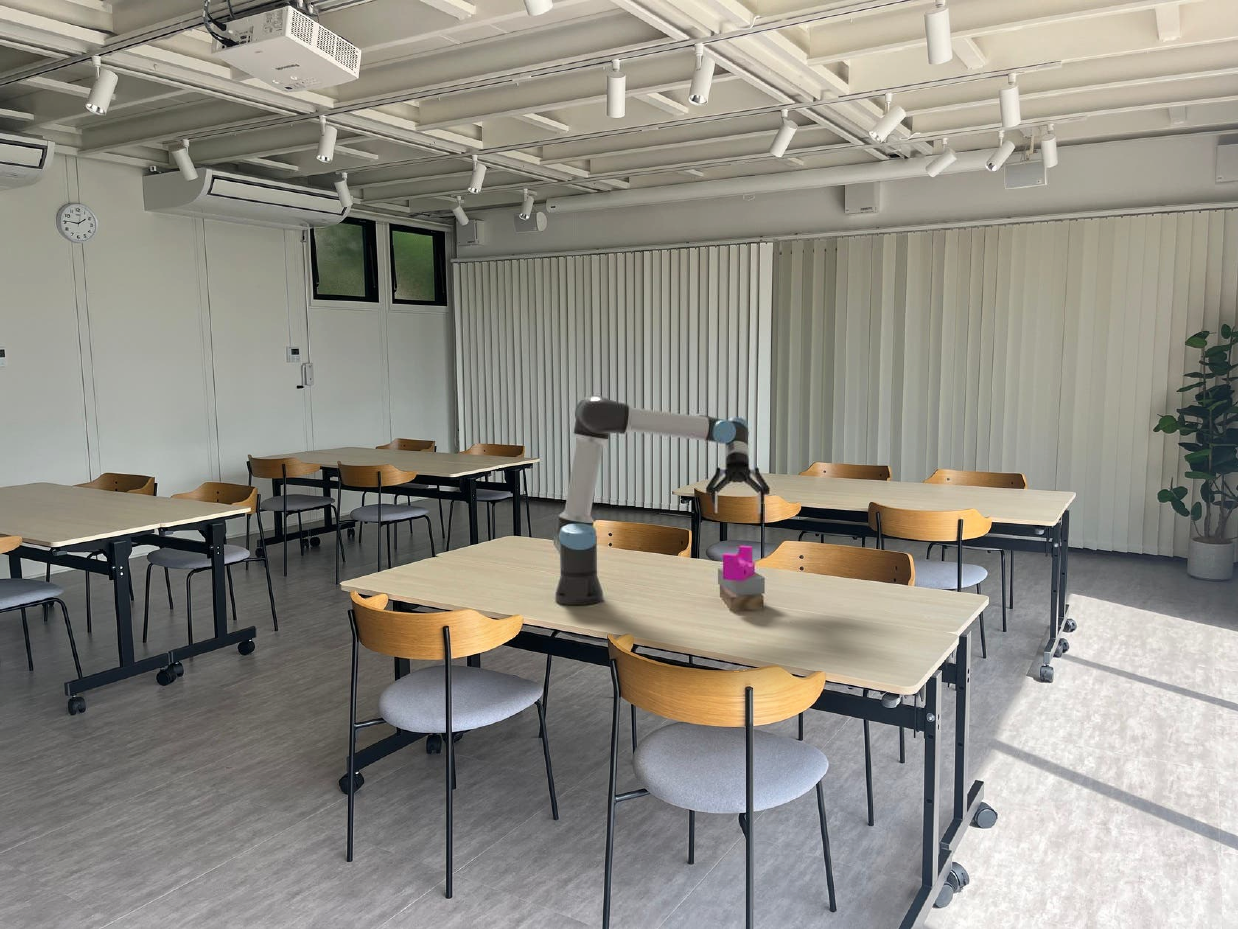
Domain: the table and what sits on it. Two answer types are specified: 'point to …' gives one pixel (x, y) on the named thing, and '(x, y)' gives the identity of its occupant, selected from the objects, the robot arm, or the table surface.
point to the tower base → (742, 601)
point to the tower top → (743, 584)
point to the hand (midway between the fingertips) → (737, 510)
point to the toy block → (738, 564)
